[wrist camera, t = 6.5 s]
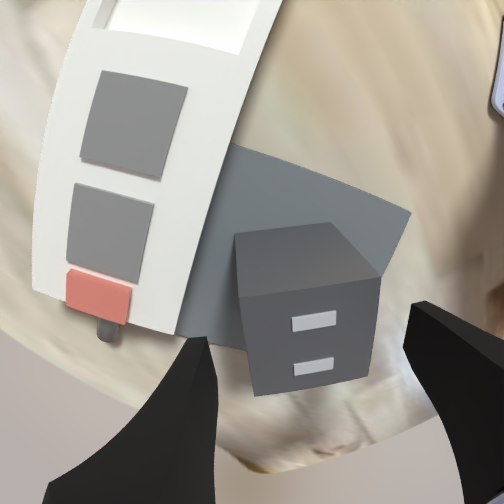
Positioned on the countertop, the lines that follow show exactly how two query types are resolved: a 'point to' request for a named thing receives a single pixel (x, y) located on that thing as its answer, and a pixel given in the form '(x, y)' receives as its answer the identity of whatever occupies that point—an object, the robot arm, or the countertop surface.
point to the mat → (268, 217)
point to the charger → (305, 307)
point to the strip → (139, 152)
